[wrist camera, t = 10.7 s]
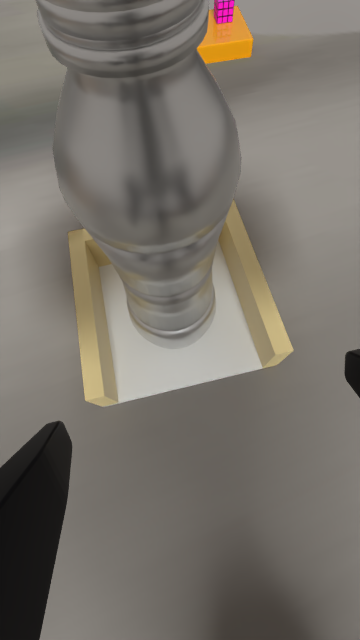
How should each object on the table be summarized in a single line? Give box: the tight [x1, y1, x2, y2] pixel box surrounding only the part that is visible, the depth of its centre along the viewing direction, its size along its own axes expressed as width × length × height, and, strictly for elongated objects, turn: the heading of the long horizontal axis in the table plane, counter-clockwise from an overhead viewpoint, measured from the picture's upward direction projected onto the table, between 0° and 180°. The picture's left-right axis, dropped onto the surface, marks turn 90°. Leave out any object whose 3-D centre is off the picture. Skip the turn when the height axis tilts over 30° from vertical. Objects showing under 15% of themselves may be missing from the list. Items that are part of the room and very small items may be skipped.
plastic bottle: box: [36, 0, 241, 349], centre depth 14 cm, size 6×7×20 cm
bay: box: [68, 199, 294, 407], centre depth 23 cm, size 13×13×4 cm
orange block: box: [197, 0, 253, 64], centre depth 37 cm, size 8×8×4 cm
